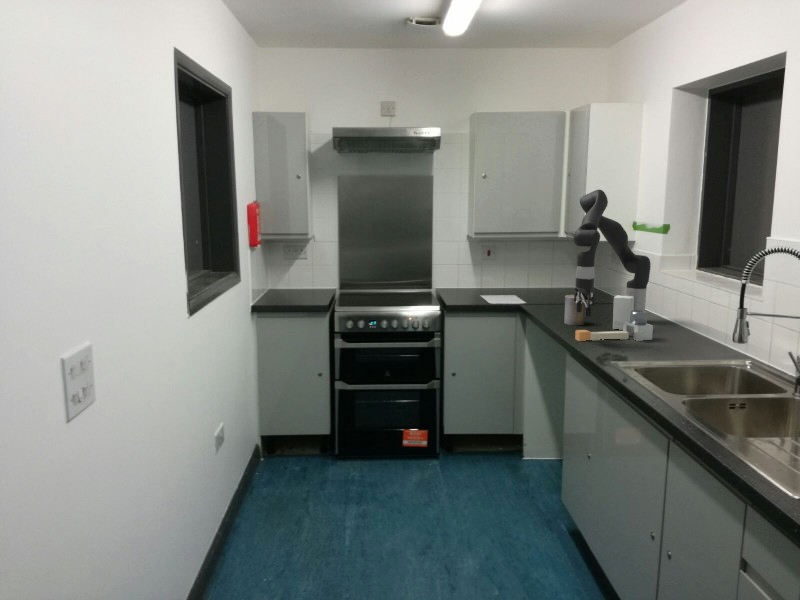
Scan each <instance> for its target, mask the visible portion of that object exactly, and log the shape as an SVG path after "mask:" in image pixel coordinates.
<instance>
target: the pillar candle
mask: <svg viewBox="0 0 800 600" xmlns="http://www.w3.org/2000/svg"><path fill="white" fill-rule="evenodd" d="M576 297H577V296H576ZM581 304H582V312H576V301H574V294H567V295H565V296H564V320H563V321H564V322H563V323H564V324H565V325H567V326H574V327H575V326H584V325H585V324H584V323H585V322H586V321H585V320H586V316H585V308H586V306H585V303H583V302H582V303H581Z"/></svg>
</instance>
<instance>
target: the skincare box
mask: <svg viewBox="0 0 800 600" xmlns="http://www.w3.org/2000/svg"><path fill="white" fill-rule="evenodd" d="M633 309H634V296H626V295H620V294H619V295H615V296H614V297H613V310H612V311H613V313H612V330H614V329H619V330H618V331H623V320H630V311H632V310H633Z"/></svg>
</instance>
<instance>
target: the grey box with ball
mask: <svg viewBox="0 0 800 600" xmlns="http://www.w3.org/2000/svg"><path fill="white" fill-rule="evenodd" d="M647 321H648V311H646V310H645V311H641V310H632V311H630V320H623V330H622V331H626V332H629V337H633V339H634V340H633V341H635V340H636V342H644V341H643V340H652V341H653V333H654V331H653V330H654V325H653V324H650V323H647Z"/></svg>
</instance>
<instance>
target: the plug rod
mask: <svg viewBox="0 0 800 600" xmlns="http://www.w3.org/2000/svg"><path fill="white" fill-rule="evenodd" d="M574 334H575V335H574V336H575V337H574V339H575V340H576V341H578V342H587V341H586V340H592V341H605V340H604V339H620V340H629V337H630V336H629V332H626V331H623V330H616V331H615V330H613V331H590V330H587V329H576V330H575V333H574ZM600 339H602V340H600Z"/></svg>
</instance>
